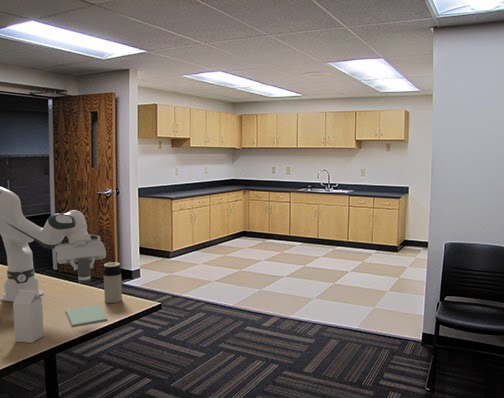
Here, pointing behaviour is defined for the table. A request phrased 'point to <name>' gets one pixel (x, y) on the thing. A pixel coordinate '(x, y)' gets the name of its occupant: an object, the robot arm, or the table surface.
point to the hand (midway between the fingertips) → (84, 268)
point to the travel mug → (112, 282)
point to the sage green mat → (86, 315)
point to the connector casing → (84, 270)
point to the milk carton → (28, 317)
